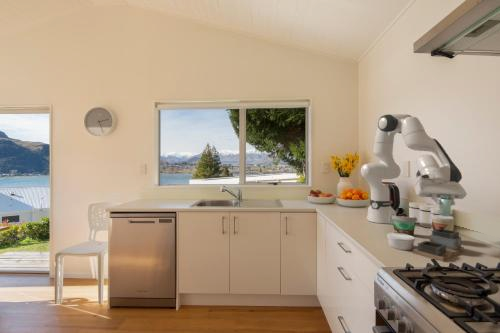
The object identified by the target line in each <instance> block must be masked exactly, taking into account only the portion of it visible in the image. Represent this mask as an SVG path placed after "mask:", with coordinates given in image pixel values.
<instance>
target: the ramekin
mask: <svg viewBox="0 0 500 333" xmlns="http://www.w3.org/2000/svg"><path fill="white" fill-rule="evenodd" d="M386 237H387V241H388V245H389V246H390V248H393V249H395V248H396V250H401V251H411V250H413V248H414V244H415V242H416V241H415V240H416V238H415V237H414V235H413V236H410V235H407V234H402V233H394V232H389V233H387V234H386Z"/></svg>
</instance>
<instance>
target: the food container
mask: <svg viewBox="0 0 500 333" xmlns="http://www.w3.org/2000/svg"><path fill="white" fill-rule="evenodd" d="M392 219H393V224H392V225H393V233H402V234H407V235H410V236H413V237H414V235H415V229H416V222H418V218H417V216H415V217H408V216H398V215H396V216H394V215H393V216H392Z"/></svg>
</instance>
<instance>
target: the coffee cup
mask: <svg viewBox="0 0 500 333" xmlns="http://www.w3.org/2000/svg"><path fill="white" fill-rule="evenodd" d="M431 227H432V229H431V230H432V231H433V230H436V229H445V230H450V231H454V227H455V218H454V217H453V216H441V215H439V214H434V215H432V216H431ZM432 231H431V232H432Z"/></svg>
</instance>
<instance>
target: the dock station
mask: <svg viewBox="0 0 500 333" xmlns="http://www.w3.org/2000/svg"><path fill="white" fill-rule="evenodd" d="M431 232H432V233H431V234H429V241H428V240H423V241H421V242H418V243H417V247H416V248H414V249H413V248H412V254H415V255H418V256H421V257H425V258H429V259H433V260H436V261H440V262H444V261H447V260H448V259H450V258H452V257H454V256H456V255H458V254H460V253H461V252H464V251H465V249H464V246H462V236H460V235H459V234H460V232H459V231H454V230H453V231H450V230H445V229H436V230H433V231H431Z"/></svg>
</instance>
